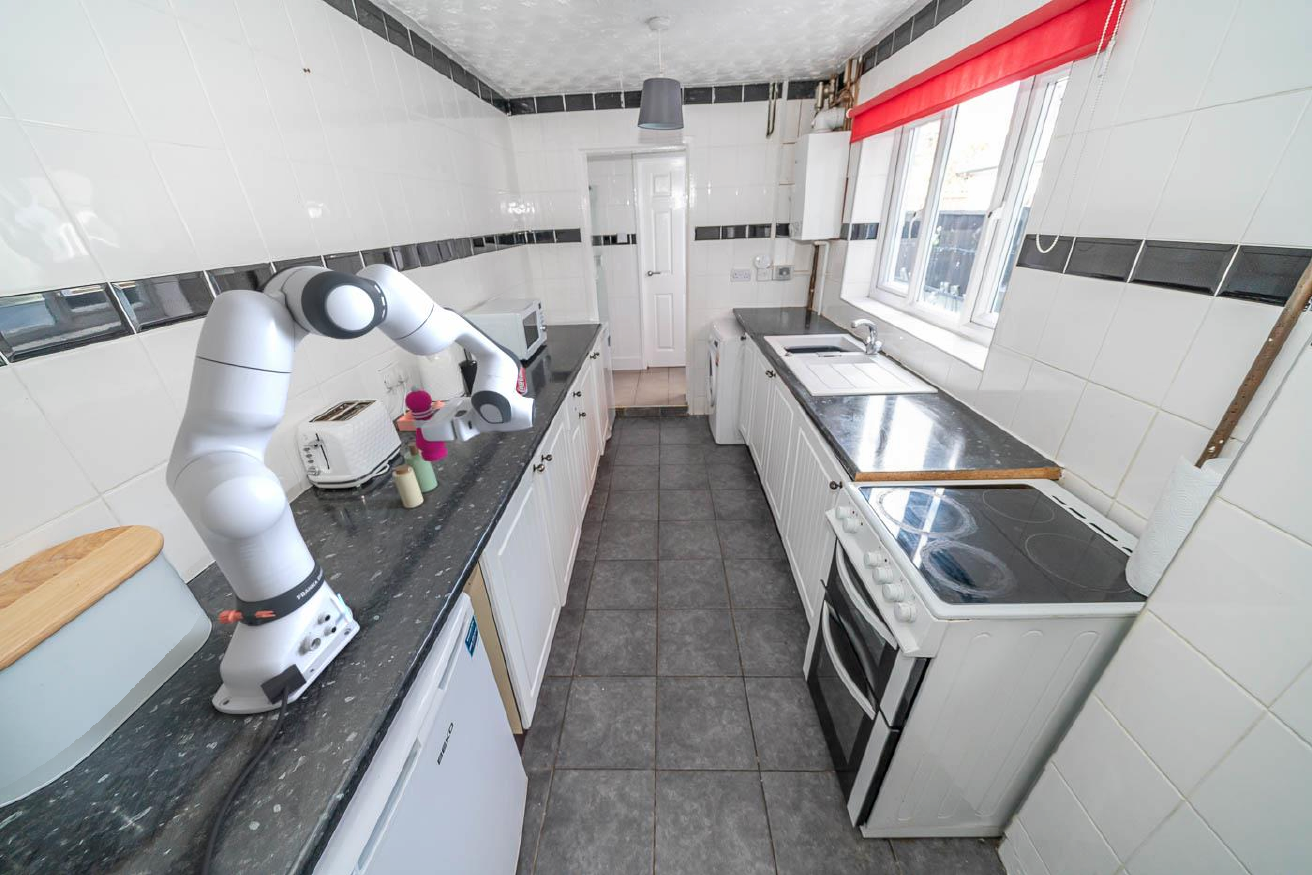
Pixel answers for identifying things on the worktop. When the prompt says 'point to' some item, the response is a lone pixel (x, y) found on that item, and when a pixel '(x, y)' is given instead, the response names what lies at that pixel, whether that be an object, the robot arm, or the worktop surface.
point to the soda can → (521, 383)
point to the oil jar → (420, 468)
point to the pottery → (407, 420)
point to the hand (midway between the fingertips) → (420, 418)
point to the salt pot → (407, 486)
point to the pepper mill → (422, 410)
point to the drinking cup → (469, 371)
